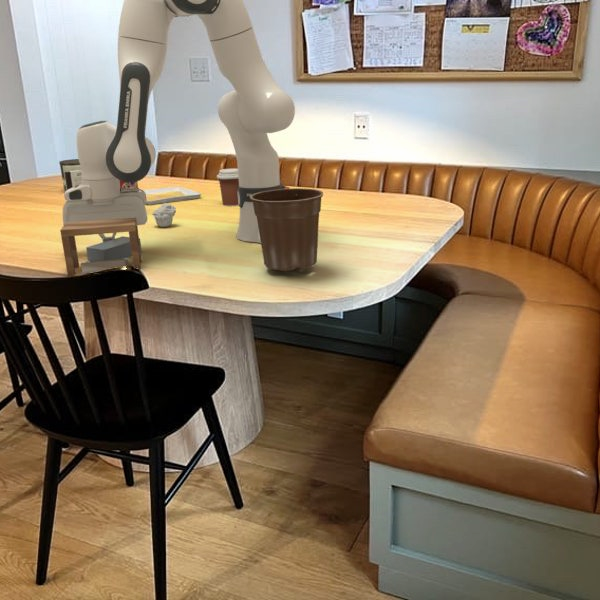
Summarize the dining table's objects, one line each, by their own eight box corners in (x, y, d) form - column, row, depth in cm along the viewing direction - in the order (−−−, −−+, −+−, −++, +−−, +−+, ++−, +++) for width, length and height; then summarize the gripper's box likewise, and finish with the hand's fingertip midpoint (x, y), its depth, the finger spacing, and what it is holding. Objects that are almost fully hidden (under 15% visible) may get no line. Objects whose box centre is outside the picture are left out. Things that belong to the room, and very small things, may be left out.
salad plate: (203, 202, 226) (203, 192, 225) (147, 210, 215) (146, 200, 214) (179, 194, 243) (178, 185, 242) (125, 202, 232) (124, 192, 231)
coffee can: (59, 199, 241) (53, 161, 236) (82, 194, 249) (76, 158, 244) (76, 201, 235) (70, 162, 231) (98, 196, 243) (93, 159, 238)
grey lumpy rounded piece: (178, 228, 185) (175, 204, 183) (153, 230, 184) (150, 206, 182) (177, 224, 191) (175, 201, 188) (153, 226, 190) (151, 202, 187)
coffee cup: (248, 206, 214) (246, 170, 210) (222, 209, 211) (219, 172, 207) (241, 201, 222) (239, 167, 218) (216, 204, 219) (213, 169, 215)
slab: (124, 251, 163) (122, 236, 162) (141, 253, 160) (140, 238, 159) (88, 263, 153) (86, 247, 152) (106, 266, 151) (103, 250, 149)
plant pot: (242, 271, 141) (237, 199, 136) (271, 252, 155) (267, 187, 150) (310, 276, 136) (308, 201, 130) (334, 256, 150) (332, 188, 144)
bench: (72, 266, 150) (65, 222, 147) (141, 260, 153) (136, 217, 149) (67, 275, 143) (60, 230, 139) (140, 269, 146) (134, 224, 142)
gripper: (145, 185, 161) (151, 238, 165) (61, 190, 157) (70, 244, 162) (144, 189, 155) (150, 243, 159) (57, 194, 151) (66, 250, 156)
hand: (109, 244), depth 161 cm, fingers closed
